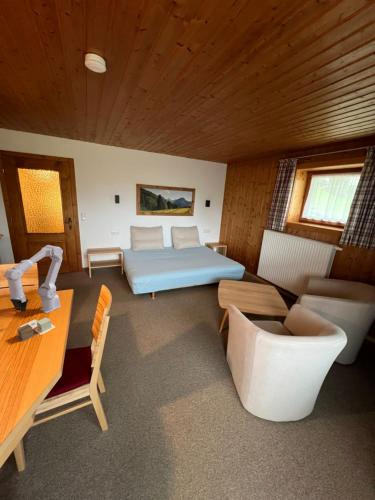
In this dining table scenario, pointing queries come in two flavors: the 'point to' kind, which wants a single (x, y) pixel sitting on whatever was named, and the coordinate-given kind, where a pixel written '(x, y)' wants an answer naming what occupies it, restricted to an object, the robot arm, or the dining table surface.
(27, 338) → the coaster
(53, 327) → the card
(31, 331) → the walnut block
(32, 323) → the card
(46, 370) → the dining table surface
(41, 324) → the sage block
